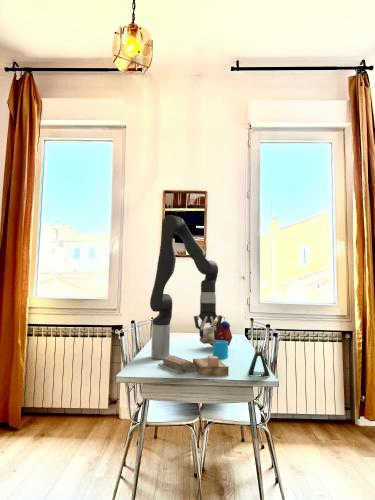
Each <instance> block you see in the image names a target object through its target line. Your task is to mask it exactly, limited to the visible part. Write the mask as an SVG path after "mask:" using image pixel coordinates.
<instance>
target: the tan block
mask: <svg viewBox="0 0 375 500" xmlns="http://www.w3.org/2000/svg"><path fill="white" fill-rule="evenodd" d="M199 342H201V343H202V344H205V345H207V344H209V345H210V344H214V343H216V340H215V339H214V328H212V327H210V326H209V327H207V326H206V327H205V326H204V327H203V338H201V337H200V336H199Z"/></svg>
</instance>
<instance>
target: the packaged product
mask: <svg viewBox="0 0 375 500" xmlns="http://www.w3.org/2000/svg"><path fill="white" fill-rule="evenodd" d="M157 365H158V366H159V367H160V368H161V367H162V368H164V369H167V370H168V371H171V372H174V373H176V374H177V375H183V374H189V373H193V372H194V373H196V372H198V371H197V369H196V368H195V367H194V366H193V361H190V360H187V359H185V358H181V357H179V356H177V355H176V356H175V355H169V356H168V357H166V358H164V359H162V362H161V363H157Z"/></svg>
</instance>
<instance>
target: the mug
mask: <svg viewBox="0 0 375 500" xmlns="http://www.w3.org/2000/svg"><path fill="white" fill-rule="evenodd" d="M212 356H217V357H218V358H219V360H226V359H228V358H229V346H228V341H222V340H216V343H214V344H213V346H212Z"/></svg>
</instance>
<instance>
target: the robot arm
mask: <svg viewBox="0 0 375 500" xmlns="http://www.w3.org/2000/svg"><path fill="white" fill-rule="evenodd" d="M161 223H162V225H161V237H160V246H159V247H160V248H159V254H158V260H157V265H156V266H157V267H156V273H155V278H154V284H153V287H152V290H151V291H152V292H151V295H150V300H149V307H150V309H151V311H152V312H156V313H158V314H157V315H156V316H155V317H154V318H152V331H151V333H152V338H151V354H150V355H151V359H154V360H163V359H164V358H166V357H168V356H170V347H171V346H170V344H171V343H170V342H171V341H170V340H171V339H170V337H171V335H170V334H171V320H172V316H173V298H172V296H171V295H170V294H169V293H164V291H165V287H166V286H167V284H168V282H169V280H170V278H171V277H172V276H173V274H174V272H175V268H176V260H177V259H176V257H177V256H176V252H175V249H174V244H173V240H174V234H176V235H177V236H178V237H179V238H180V239H181V240H182V242H183V244H184V249H185V251H186V253H187V254H188V255H189V257H190V258H191V259H192V260H193V262H194V264H195V267H196V269H197V270H198V272H199V273H200V274H201V275H204V278H203V279H204V280H201V282H200V296H199V297H200V298H199V302H200V303H199V314H198V315H193V320H194V325H195V329H197V330H199V338H200V337H201V338H203V327H205V325H206V324H210V323H211V325H210V326H212V328H214V338H215V337H216V329H219V328H220V325H221V323H222V322H223V321H222V319H223V317H222V316H223V315H221V316H218V315H217V312H216V311H217V296H216V295H217V294H216V282H217V278H218V274H219V266H218V264H217V262H216V261H214V260H209V259H207V258H206V254H207V253H206V252H205V250H204V249H203V248H202V247H201V245H200V243H198V242H197V240H196V238H194V236H193V234H192V233H191V231H190V229H189V227H188V226H187V223H186V222H185V221H184V219H183V218H182V217H180V216H176V215H173V214H168V215H166V216H165V217H164V218H163V220H162V222H161ZM199 319H200V320H201V322H200V325H199ZM215 320H217V325H216V326H215V323H214V321H215Z"/></svg>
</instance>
